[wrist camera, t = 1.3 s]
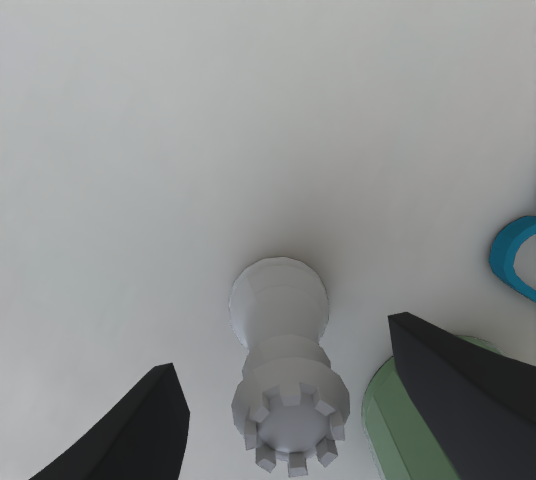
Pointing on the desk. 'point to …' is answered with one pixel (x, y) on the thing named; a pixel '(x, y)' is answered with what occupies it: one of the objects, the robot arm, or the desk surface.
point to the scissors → (512, 253)
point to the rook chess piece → (286, 366)
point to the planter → (404, 429)
